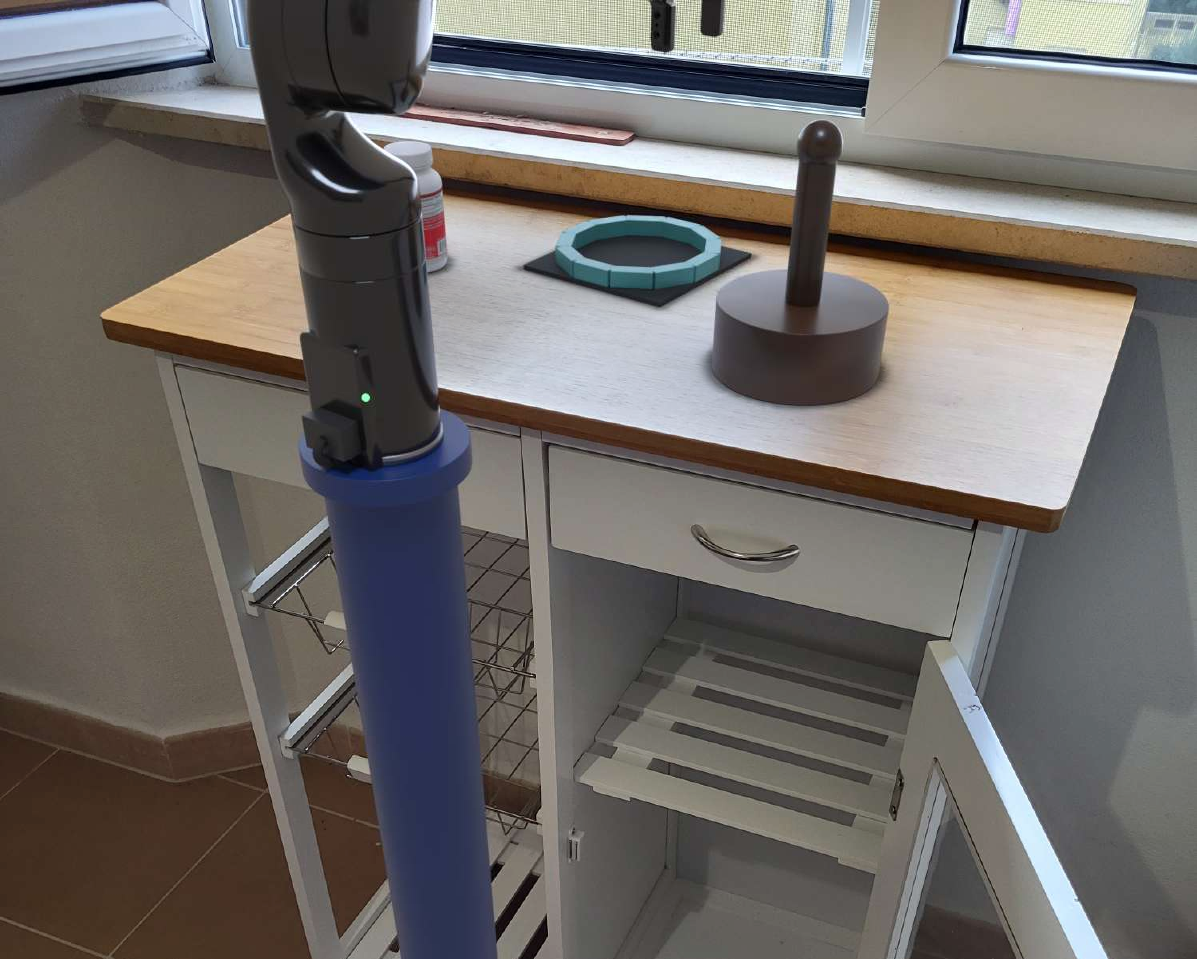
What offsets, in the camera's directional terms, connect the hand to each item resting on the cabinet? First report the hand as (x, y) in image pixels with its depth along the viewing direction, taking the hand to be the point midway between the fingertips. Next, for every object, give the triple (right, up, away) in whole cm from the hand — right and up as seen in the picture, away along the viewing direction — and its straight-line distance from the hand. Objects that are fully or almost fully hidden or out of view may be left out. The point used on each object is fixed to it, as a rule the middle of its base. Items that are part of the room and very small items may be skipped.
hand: (687, 43), depth 118 cm
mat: (-4, -17, +9) cm, 20 cm away
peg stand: (+9, -35, -10) cm, 37 cm away
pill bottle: (-27, -18, +9) cm, 34 cm away
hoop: (-4, -17, +9) cm, 20 cm away
